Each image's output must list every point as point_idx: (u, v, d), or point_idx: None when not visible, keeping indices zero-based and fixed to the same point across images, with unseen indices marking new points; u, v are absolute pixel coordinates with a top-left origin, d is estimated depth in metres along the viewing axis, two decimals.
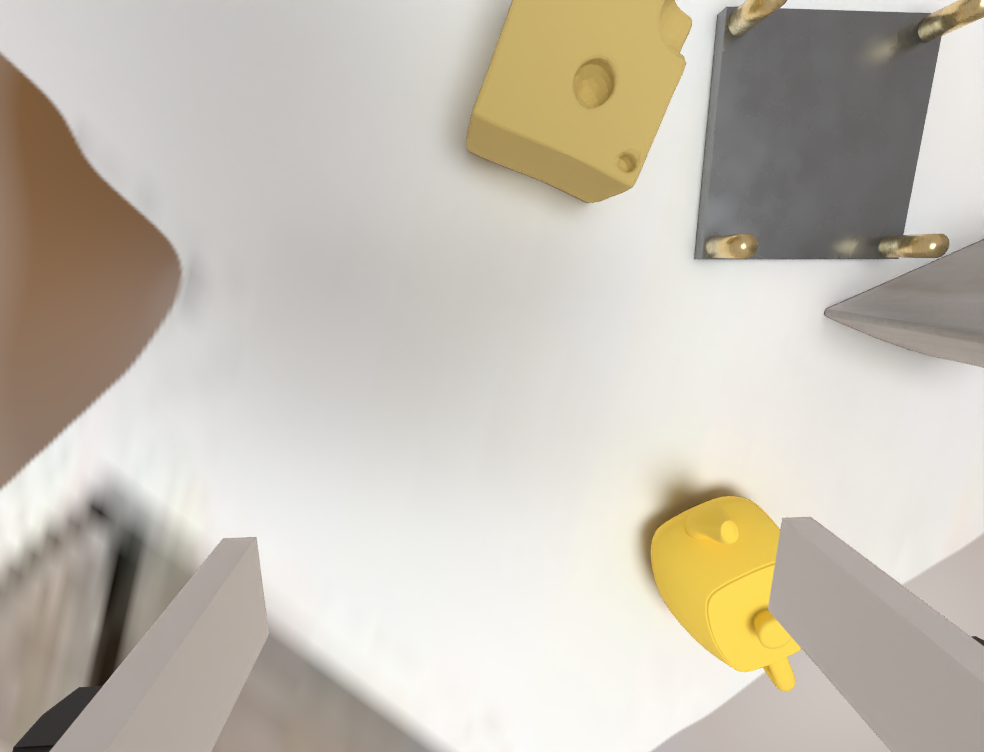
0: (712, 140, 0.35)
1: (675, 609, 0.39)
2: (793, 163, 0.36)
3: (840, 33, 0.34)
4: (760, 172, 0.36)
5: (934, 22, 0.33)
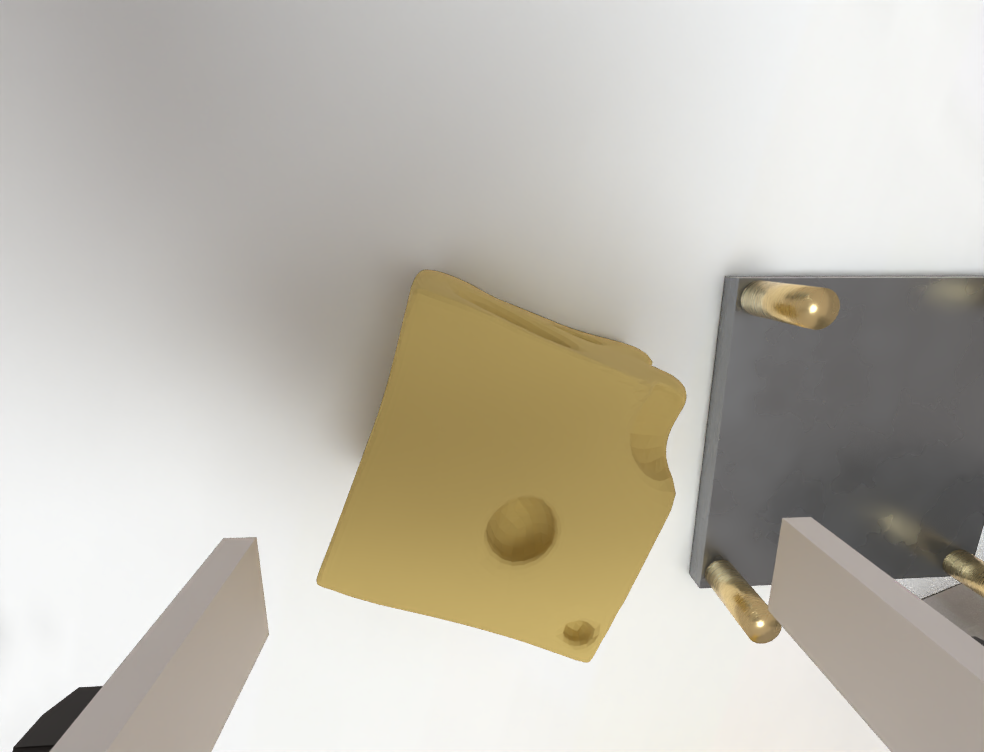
0: (716, 444, 0.25)
1: None
2: (829, 470, 0.25)
3: (903, 307, 0.23)
4: (783, 482, 0.25)
5: None
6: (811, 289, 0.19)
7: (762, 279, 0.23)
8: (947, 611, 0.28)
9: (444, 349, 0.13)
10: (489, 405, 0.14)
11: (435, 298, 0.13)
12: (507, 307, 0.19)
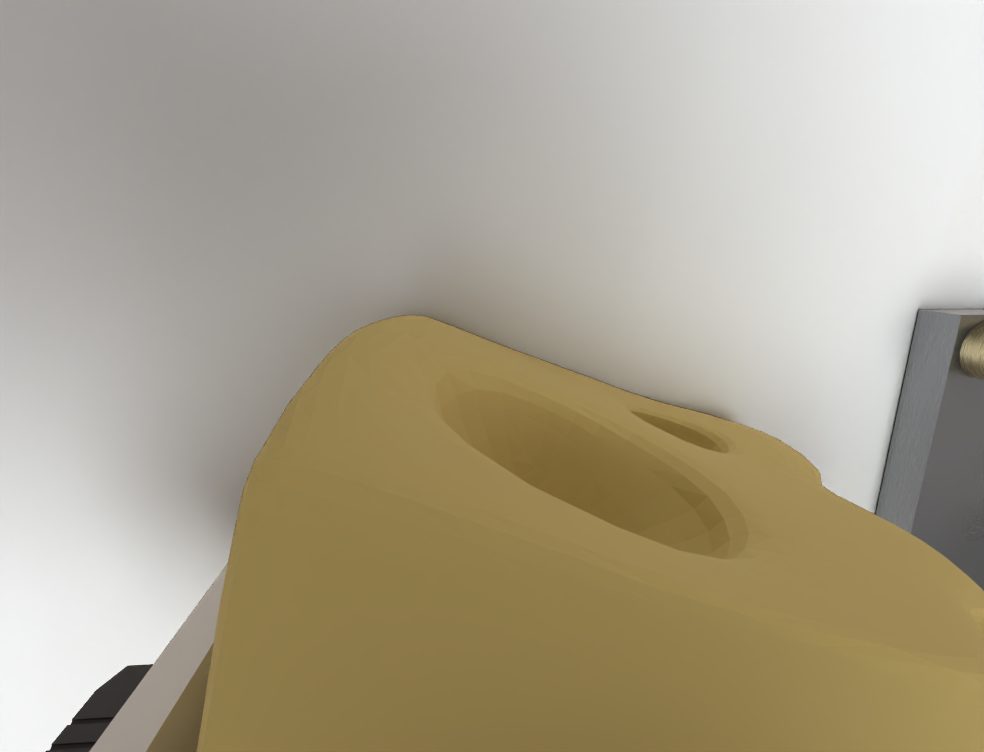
0: None
1: None
2: None
3: None
4: None
5: None
6: None
7: None
8: None
9: (382, 672, 0.04)
10: None
11: (335, 500, 0.03)
12: (551, 392, 0.09)
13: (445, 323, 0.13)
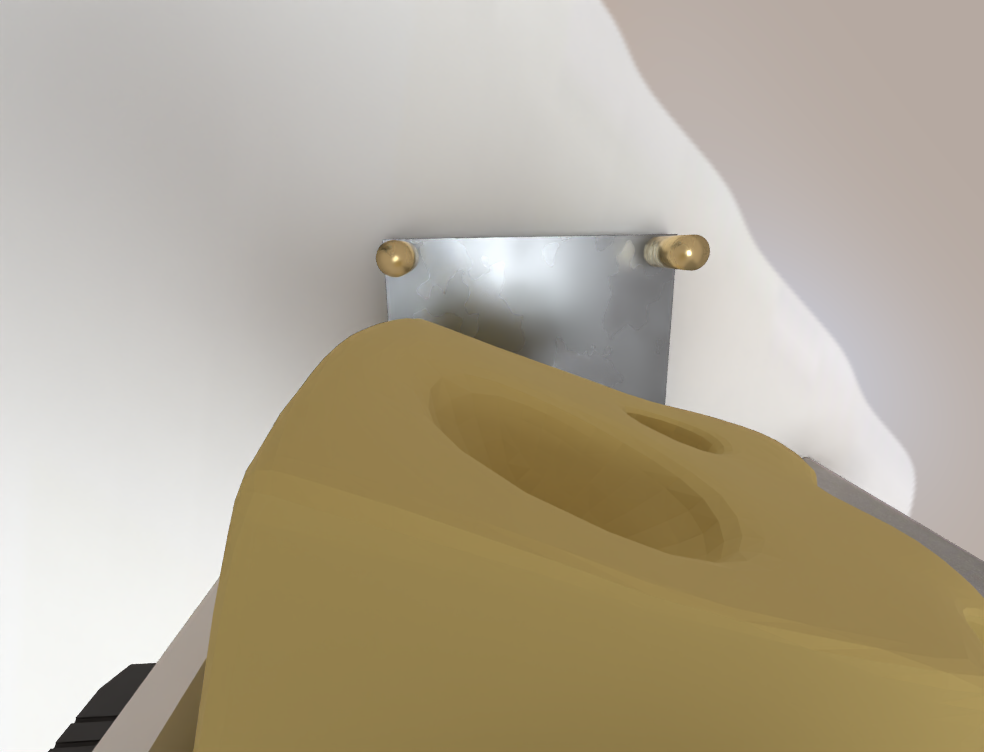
0: None
1: None
2: None
3: (540, 263, 0.26)
4: None
5: (652, 255, 0.25)
6: (386, 242, 0.22)
7: (404, 240, 0.26)
8: None
9: (375, 679, 0.04)
10: None
11: (327, 509, 0.03)
12: (546, 395, 0.09)
13: (441, 326, 0.13)
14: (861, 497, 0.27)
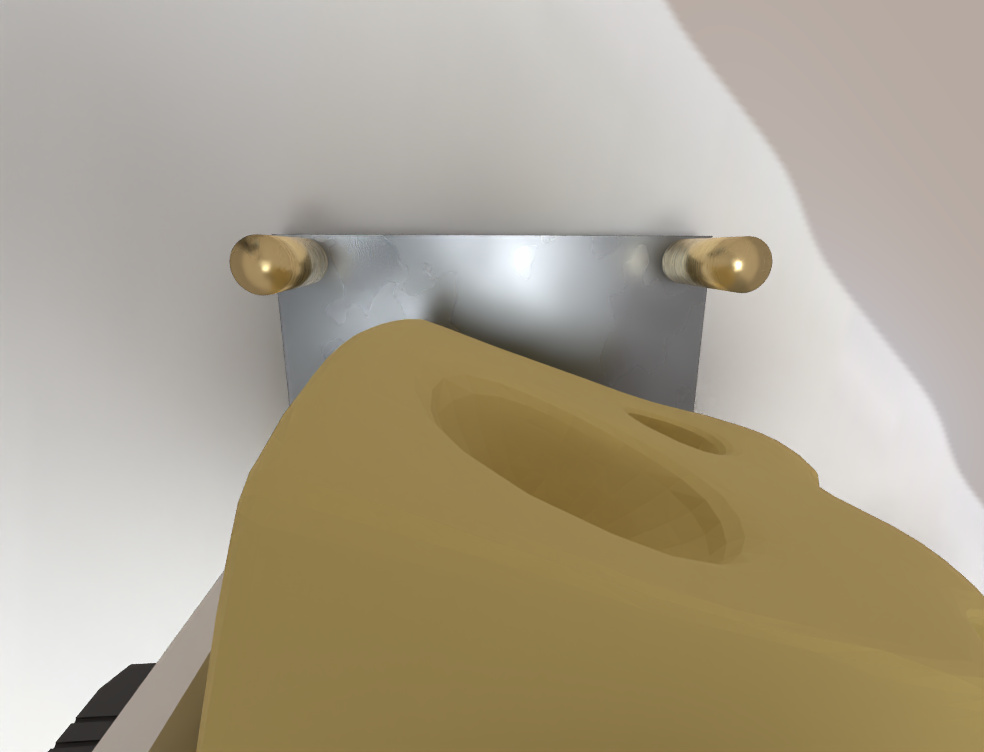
0: None
1: None
2: None
3: (510, 274, 0.18)
4: None
5: (676, 266, 0.17)
6: None
7: (304, 236, 0.17)
8: None
9: (377, 681, 0.04)
10: None
11: (329, 511, 0.03)
12: (548, 395, 0.09)
13: (442, 326, 0.13)
14: None
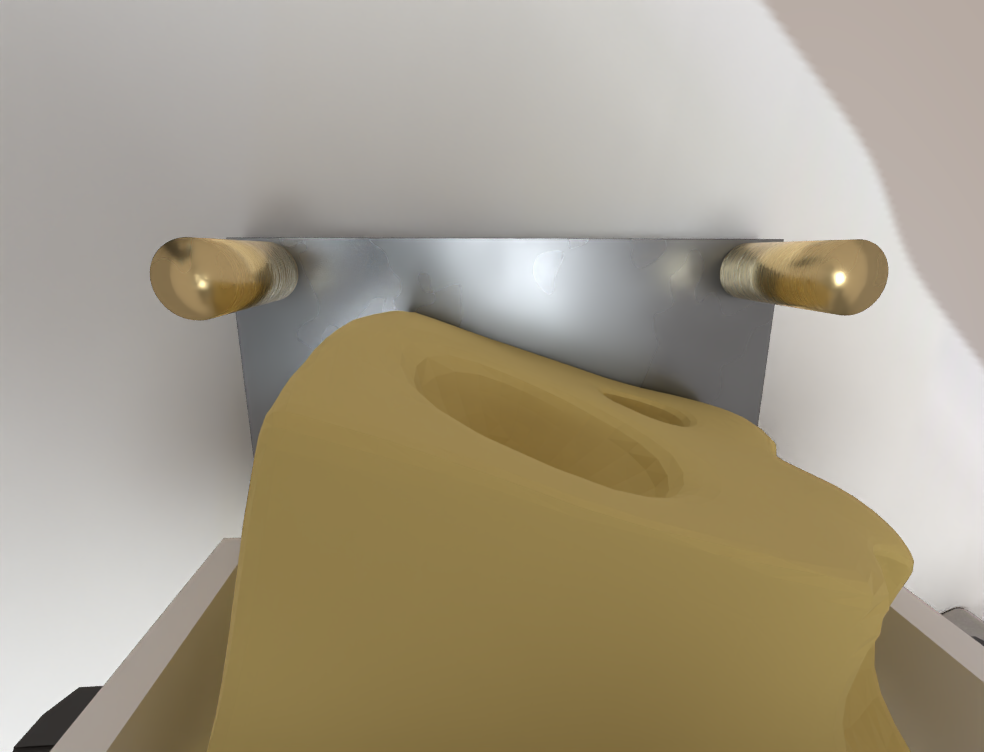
0: None
1: None
2: None
3: (529, 288, 0.14)
4: None
5: (743, 278, 0.13)
6: (174, 241, 0.10)
7: (268, 240, 0.13)
8: None
9: (366, 573, 0.05)
10: (499, 693, 0.05)
11: (326, 439, 0.04)
12: (524, 374, 0.10)
13: (433, 318, 0.14)
14: None
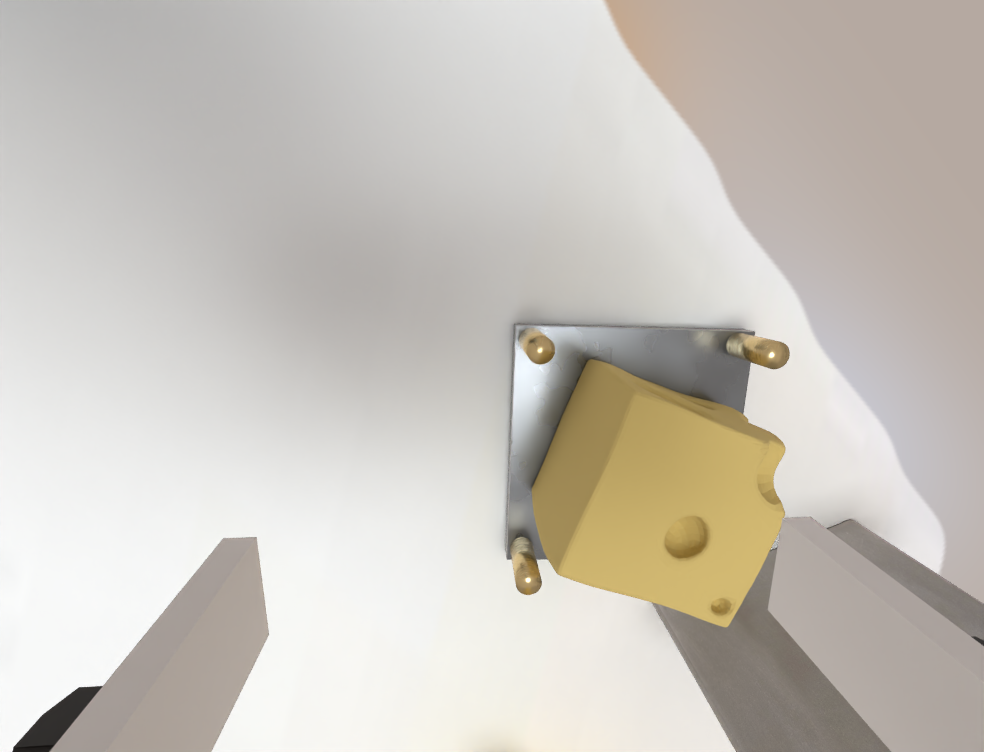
0: (511, 447, 0.33)
1: None
2: None
3: (641, 350, 0.32)
4: None
5: (736, 349, 0.31)
6: (535, 337, 0.28)
7: (533, 327, 0.31)
8: None
9: (650, 427, 0.23)
10: (674, 459, 0.23)
11: (647, 398, 0.22)
12: (654, 387, 0.28)
13: None
14: (903, 559, 0.32)
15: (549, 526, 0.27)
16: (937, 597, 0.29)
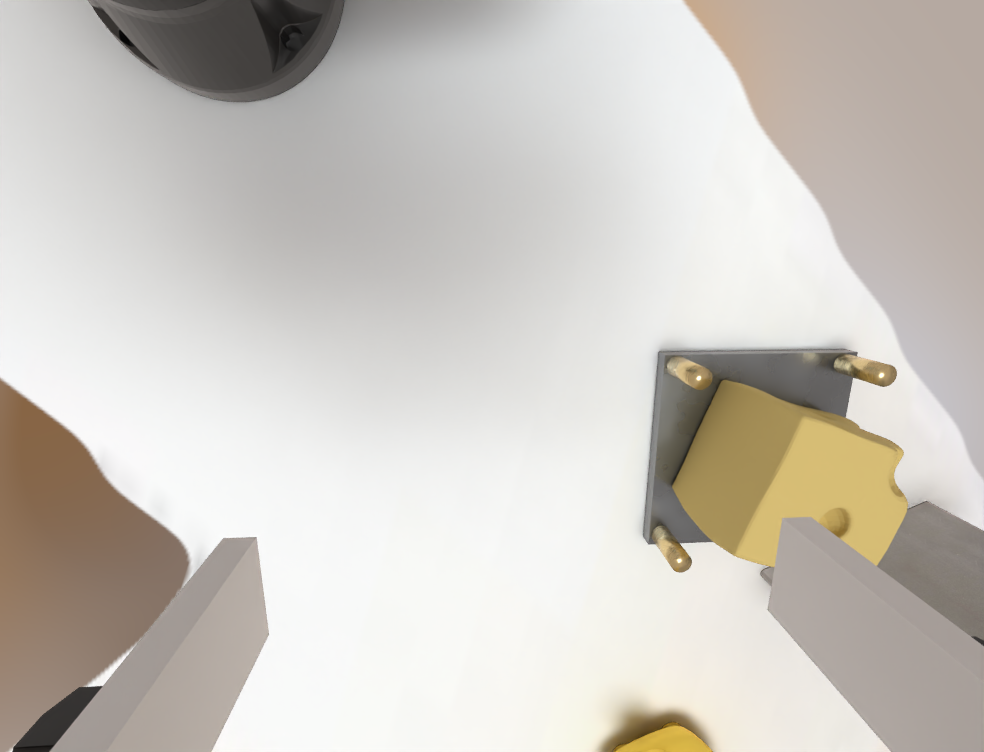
0: (655, 453, 0.40)
1: None
2: None
3: (765, 370, 0.39)
4: None
5: (845, 368, 0.38)
6: (696, 368, 0.34)
7: (678, 355, 0.38)
8: None
9: (814, 442, 0.29)
10: (829, 466, 0.30)
11: (812, 420, 0.29)
12: (791, 405, 0.35)
13: None
14: (979, 533, 0.39)
15: (711, 518, 0.35)
16: None
